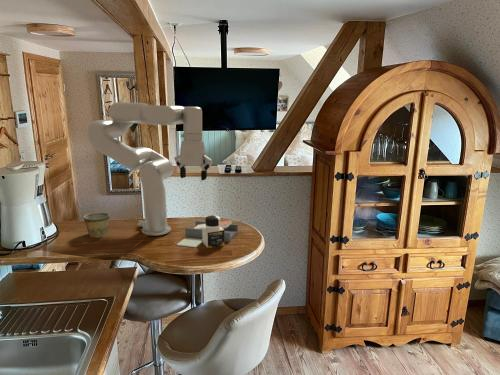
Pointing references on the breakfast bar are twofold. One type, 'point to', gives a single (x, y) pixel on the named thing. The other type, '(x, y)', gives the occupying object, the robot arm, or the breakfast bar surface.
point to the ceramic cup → (97, 224)
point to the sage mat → (190, 242)
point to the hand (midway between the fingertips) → (193, 178)
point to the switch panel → (197, 233)
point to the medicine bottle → (213, 232)
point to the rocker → (222, 225)
